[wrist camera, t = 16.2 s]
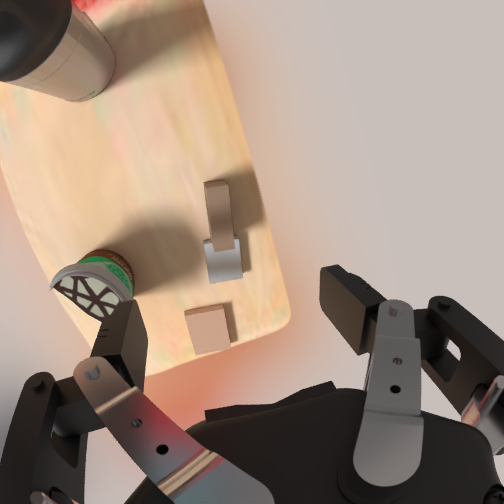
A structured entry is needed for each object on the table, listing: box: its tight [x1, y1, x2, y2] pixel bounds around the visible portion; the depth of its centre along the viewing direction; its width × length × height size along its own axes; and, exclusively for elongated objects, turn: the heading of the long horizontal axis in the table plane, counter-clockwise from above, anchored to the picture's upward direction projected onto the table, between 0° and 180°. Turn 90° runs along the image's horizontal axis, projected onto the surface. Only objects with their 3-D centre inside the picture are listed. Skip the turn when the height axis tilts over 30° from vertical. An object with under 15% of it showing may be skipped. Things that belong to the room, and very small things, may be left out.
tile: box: [185, 304, 231, 355], centre depth 45 cm, size 2×6×8 cm
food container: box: [50, 250, 134, 322], centre depth 34 cm, size 12×6×10 cm, turn 48°
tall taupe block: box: [203, 180, 243, 284], centre depth 38 cm, size 14×5×5 cm, turn 5°
